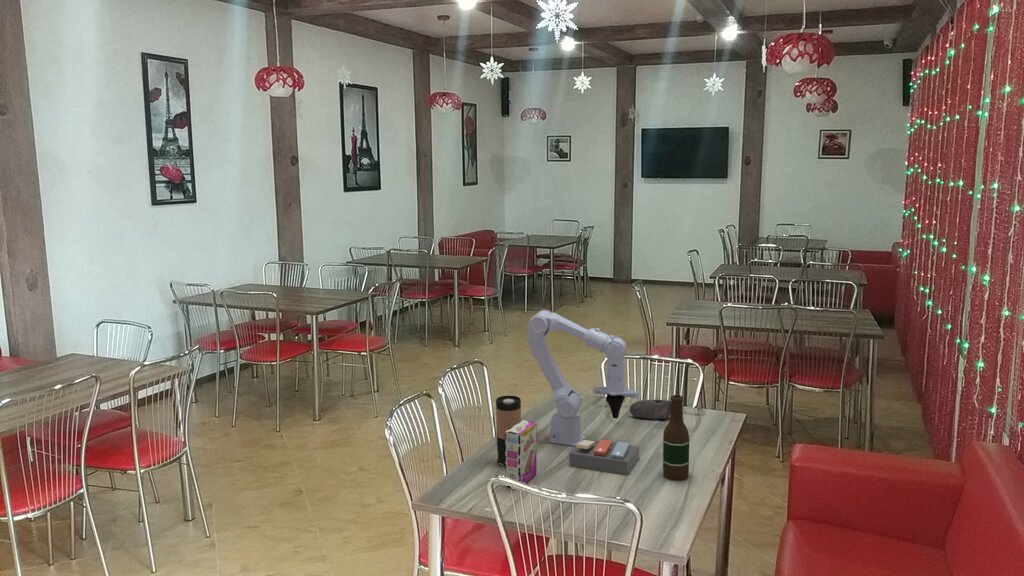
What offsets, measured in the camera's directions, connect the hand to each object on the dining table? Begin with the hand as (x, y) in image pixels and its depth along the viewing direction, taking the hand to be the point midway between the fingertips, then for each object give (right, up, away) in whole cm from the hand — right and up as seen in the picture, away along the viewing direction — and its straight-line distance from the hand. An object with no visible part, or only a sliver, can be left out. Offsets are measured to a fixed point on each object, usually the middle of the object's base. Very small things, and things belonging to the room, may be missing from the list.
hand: (615, 417), depth 242 cm
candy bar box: (-30, -14, -23) cm, 41 cm away
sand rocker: (-11, -8, -12) cm, 17 cm away
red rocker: (-6, -8, -14) cm, 17 cm away
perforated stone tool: (+16, -5, +26) cm, 31 cm away
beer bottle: (+14, -13, -22) cm, 30 cm away
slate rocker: (-1, -8, -16) cm, 18 cm away
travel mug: (-34, -12, -10) cm, 37 cm away
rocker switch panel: (-5, -12, -12) cm, 17 cm away
